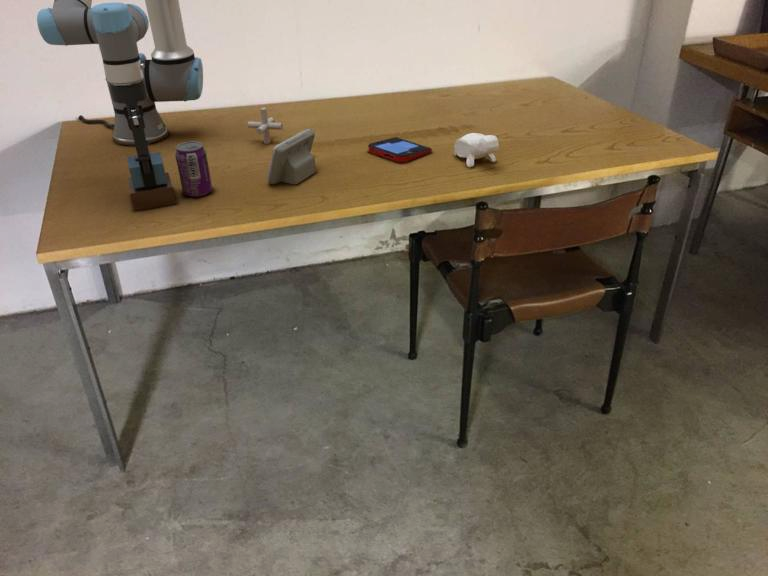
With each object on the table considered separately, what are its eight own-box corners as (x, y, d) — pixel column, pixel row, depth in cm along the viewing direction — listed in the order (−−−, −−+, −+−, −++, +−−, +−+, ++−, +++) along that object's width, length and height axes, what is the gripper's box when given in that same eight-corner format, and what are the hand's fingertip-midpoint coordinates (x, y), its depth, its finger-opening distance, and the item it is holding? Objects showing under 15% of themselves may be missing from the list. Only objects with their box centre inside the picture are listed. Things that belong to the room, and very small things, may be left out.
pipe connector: (277, 149, 181) (274, 114, 175) (244, 147, 182) (240, 113, 177) (289, 137, 189) (285, 104, 183) (257, 135, 190) (253, 102, 185)
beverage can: (218, 189, 158) (210, 143, 152) (200, 200, 153) (191, 153, 146) (195, 184, 161) (187, 139, 154) (177, 195, 155) (167, 148, 149)
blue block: (131, 176, 152) (126, 157, 150) (164, 172, 155) (159, 152, 152) (133, 188, 147) (128, 168, 144) (167, 183, 149) (163, 163, 146)
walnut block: (132, 195, 156) (127, 178, 153) (171, 189, 159) (168, 172, 156) (134, 211, 148) (130, 193, 146) (176, 204, 151) (172, 186, 149)
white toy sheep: (452, 168, 175) (482, 166, 161) (447, 137, 173) (477, 132, 159) (478, 162, 178) (510, 160, 165) (474, 132, 176) (505, 127, 163)
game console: (433, 152, 177) (433, 144, 176) (401, 165, 170) (401, 157, 168) (396, 140, 186) (396, 132, 184) (364, 151, 178) (364, 144, 177)
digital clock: (304, 162, 172) (301, 124, 166) (328, 171, 167) (326, 131, 161) (258, 181, 162) (253, 141, 156) (282, 191, 157) (278, 150, 151)
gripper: (148, 91, 131) (170, 193, 144) (141, 68, 147) (161, 162, 160) (109, 95, 129) (135, 198, 141) (106, 72, 145) (129, 166, 157)
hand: (149, 179), depth 151 cm, fingers closed on blue block, 7 cm apart
